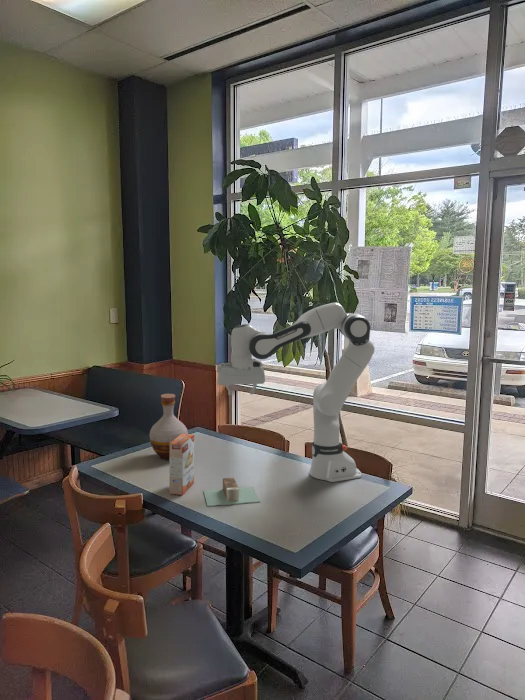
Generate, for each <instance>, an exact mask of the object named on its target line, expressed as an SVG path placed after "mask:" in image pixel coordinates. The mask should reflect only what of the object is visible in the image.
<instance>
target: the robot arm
mask: <svg viewBox="0 0 525 700" xmlns="http://www.w3.org/2000/svg"><path fill="white" fill-rule="evenodd" d="M336 329H337V330H338V331H339V332H340V333H341V335H342V336H344V337H345V338H346V339H347V340H348V346H347V349H346V350H345V351H344V352H343V353H342V355H341V356H340V358H339V359H338V361H336V363H335V365H334V367H333V368H332V369H331V372H330V373H329V376H328V378H327V380H326V382H325V383H321V384H319V385H317V386H316V387H315V389H314V391H313V393H312V395H313V396H312V405H313V407H312V408H313V412H312V413H313V441H312V446H311V453H312V458H311V465H310V468H309V472H308V474H309V476H311V477H312V478H314V479H318V480H322V481H327V482H331V483H335V482H342V481H347V480H353V479H359V478H362V472H361V471H360V470H359V468H357V465H356V461H355V460H354V458H352V457H351V456H350V455H349V454H348V453H347V452H345V451H347V450H348V446H347V445H345V444H343V443H342V442H340V431H341V430H340V427H341V425H340V415H339V414H340V412H341V411H342V409H343V406H344V404H345V402H346V400H347V399H348V397H349V395H350V393H351V391H352V389H353V387H354V385H355V384H356V382H357V381H358V379H359V378H360V376H361V375H362V374H363V372H364V371H365V369H366V368H367V367H368V365H369V363H370V361H371V360H372V357H373V355H374V352H375V345H374V343H372V342H371V340H370V336H371V324H370V321H369V320H368V319H367V317H366V316H364V315H361V314H359V313H353V312H352V313H351V312H346V310H345V309H344V306H342V305H341V304H340V303H338V302H331V303H327V304H322V305H318V306H316V307H314V308H312V309H309V310H308V311H306V312H303V313H302V314H300V316H299V317H298V318H297V320H296V321H295V322H294V323H292V325H290V326H288V327H285V328H283V329H281V330H278V331H275V332H273V333H271V334H269V333H267V332H265V331H261V330H259V329H258V328H257V329H256V328H255V327H253V326H252V325H251V324H247V323H244V324H239V325H236V326H234V327H233V329H232V331H231V336H230V337H231V338H230V347H231V354H230V362H220V363H219V364H217V367H216V372H217V380H216V381H217V384H218V385H220V386H225V388H226V389H227V391H228V392H227V393H228V396H233V390H230V386H232V385H233V386H234V385H236V386H237V385H240V386H241V385H252V386H253V387H252V389H249V394H250V395H255V390H256V389H257V386H258V385H264V383H265V382H266V375H265V370H264V368H263V362H262V361H260V360H266V359H268V358H270V357H271V356H272V355H273V354H274V353H275V352H277V350H278V349H280V348H283V347H285V346H287V345H289V344H291V343H294V342H296V341H299V340H302V339H307V338H313V337H315V336H319V335H322V334H324V333H327V332H328V331H331V330H336ZM253 357H254V358H253Z"/></svg>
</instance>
